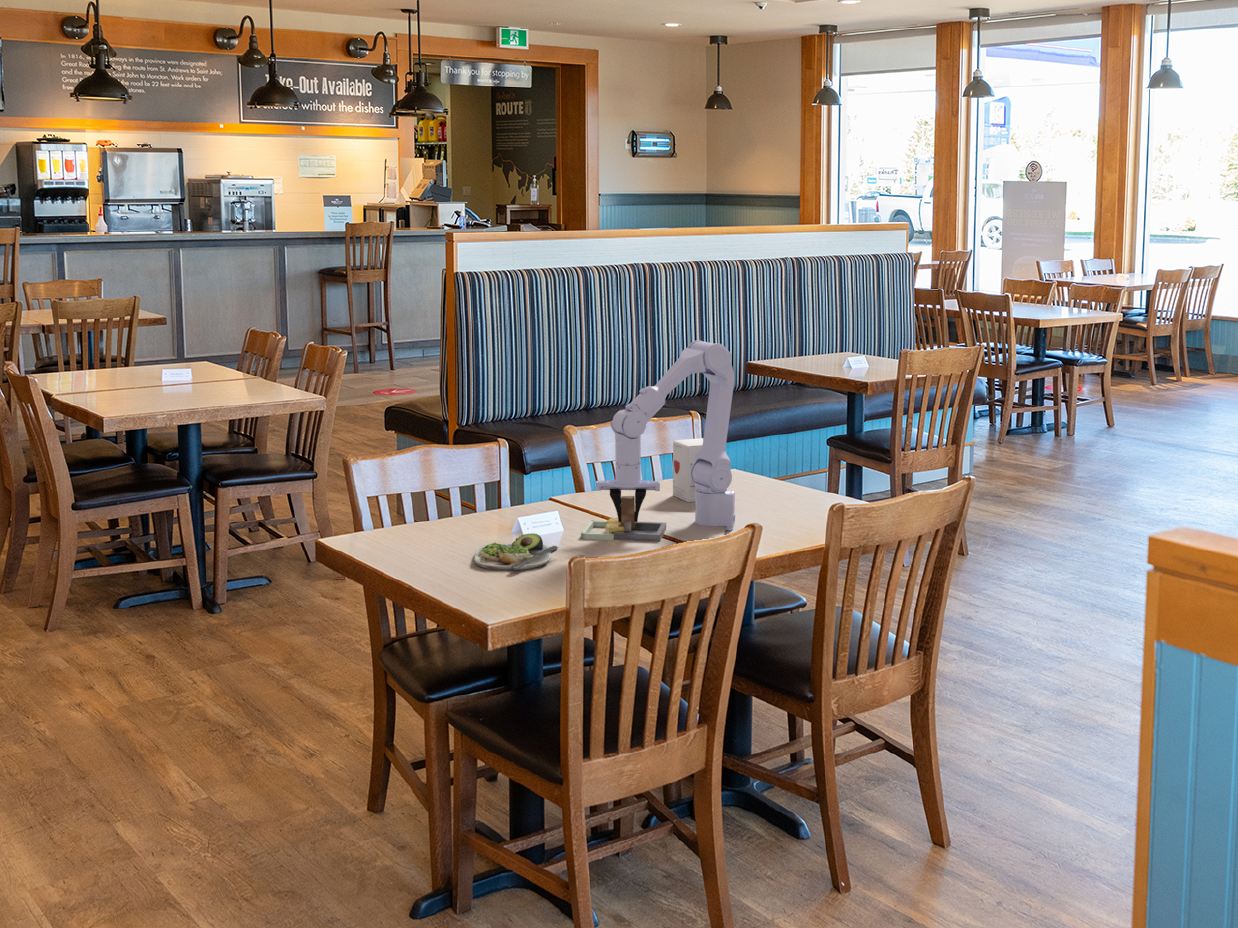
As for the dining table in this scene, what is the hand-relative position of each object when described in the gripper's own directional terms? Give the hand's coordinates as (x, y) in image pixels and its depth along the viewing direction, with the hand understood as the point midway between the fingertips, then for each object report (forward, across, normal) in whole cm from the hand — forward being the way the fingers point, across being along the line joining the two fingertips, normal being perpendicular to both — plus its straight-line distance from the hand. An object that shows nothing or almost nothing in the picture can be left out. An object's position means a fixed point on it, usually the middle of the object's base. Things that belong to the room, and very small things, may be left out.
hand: (628, 520), depth 282 cm
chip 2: (+3, +3, +2) cm, 5 cm away
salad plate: (+5, +24, +18) cm, 30 cm away
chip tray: (+4, +6, -1) cm, 7 cm away
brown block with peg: (+2, 0, 0) cm, 2 cm away
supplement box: (+4, -16, -41) cm, 44 cm away
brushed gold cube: (+3, +3, -3) cm, 5 cm away
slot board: (+4, -3, 0) cm, 5 cm away
